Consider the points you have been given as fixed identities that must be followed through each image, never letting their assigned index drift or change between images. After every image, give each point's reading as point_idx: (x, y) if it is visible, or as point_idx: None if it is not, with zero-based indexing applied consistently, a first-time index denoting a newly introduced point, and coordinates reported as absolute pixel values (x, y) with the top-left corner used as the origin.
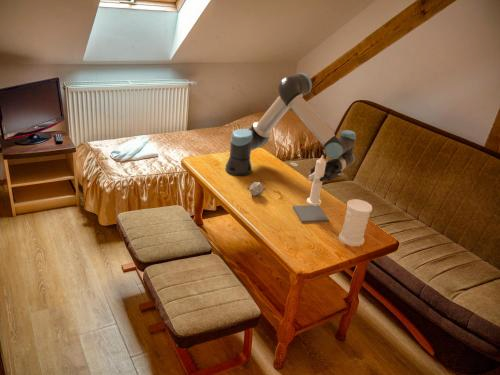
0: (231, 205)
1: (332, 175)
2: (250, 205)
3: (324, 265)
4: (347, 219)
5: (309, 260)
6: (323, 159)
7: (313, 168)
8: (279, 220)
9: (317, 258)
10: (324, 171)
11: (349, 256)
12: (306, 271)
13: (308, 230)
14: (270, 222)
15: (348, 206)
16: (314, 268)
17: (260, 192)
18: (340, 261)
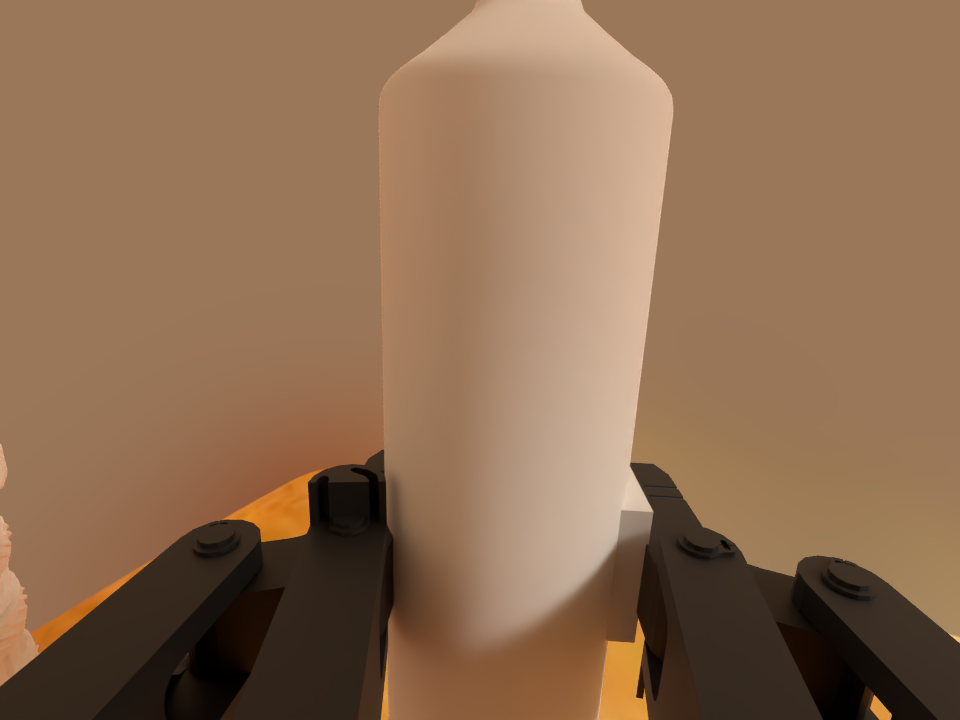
0: (955, 637)
1: (74, 635)
2: None
3: (238, 516)
4: (14, 574)
5: (309, 510)
6: (474, 9)
7: (943, 664)
8: (624, 688)
9: (274, 532)
10: (383, 384)
11: (65, 623)
12: (310, 473)
13: (381, 713)
14: (637, 631)
15: (2, 450)
16: (281, 491)
17: None
18: (145, 565)
